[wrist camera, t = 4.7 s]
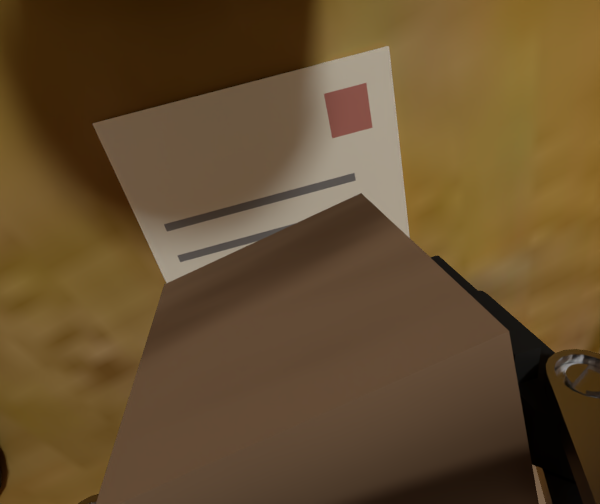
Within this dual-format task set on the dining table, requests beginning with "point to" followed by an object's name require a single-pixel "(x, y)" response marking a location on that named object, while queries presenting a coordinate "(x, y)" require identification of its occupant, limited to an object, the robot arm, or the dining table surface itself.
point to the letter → (258, 158)
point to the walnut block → (323, 380)
